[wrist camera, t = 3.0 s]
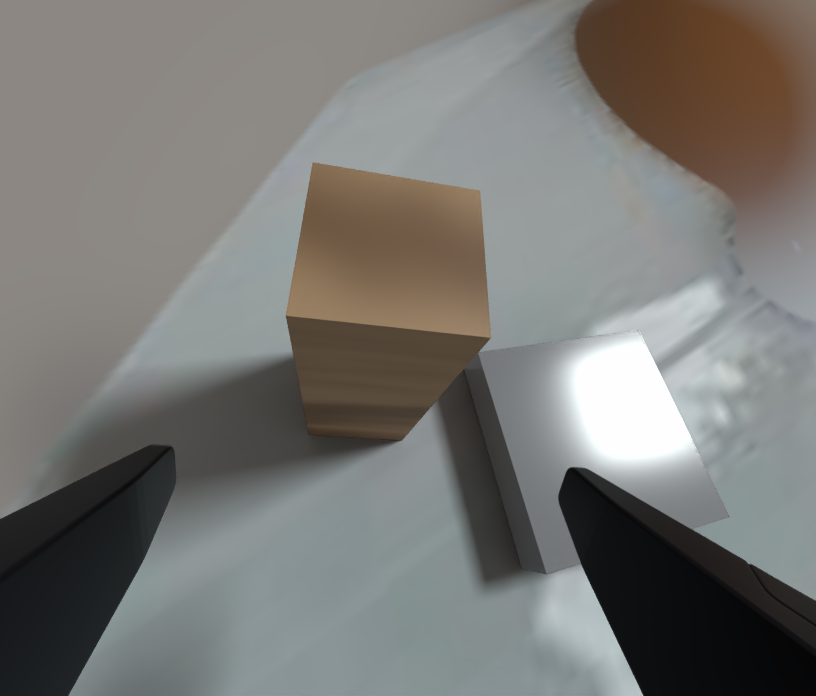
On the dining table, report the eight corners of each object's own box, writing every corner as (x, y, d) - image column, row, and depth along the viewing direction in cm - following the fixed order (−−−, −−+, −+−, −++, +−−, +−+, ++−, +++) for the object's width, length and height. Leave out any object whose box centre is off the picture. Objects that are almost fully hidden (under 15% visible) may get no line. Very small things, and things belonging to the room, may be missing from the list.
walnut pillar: (402, 440, 22) (490, 337, 10) (308, 434, 21) (285, 315, 9) (404, 356, 24) (480, 190, 12) (319, 348, 23) (312, 162, 11)
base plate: (521, 569, 20) (546, 574, 18) (463, 368, 24) (477, 352, 22) (690, 518, 23) (729, 517, 21) (612, 346, 27) (638, 330, 25)
